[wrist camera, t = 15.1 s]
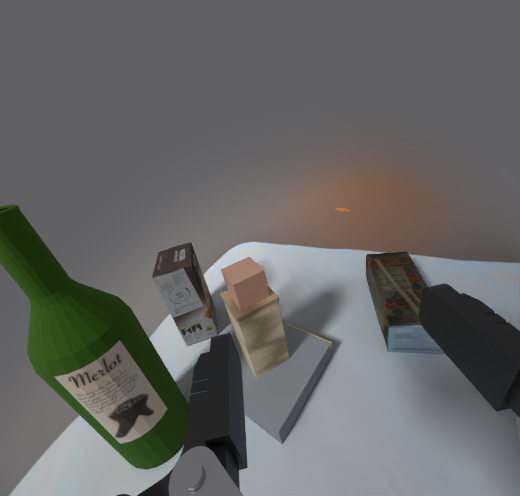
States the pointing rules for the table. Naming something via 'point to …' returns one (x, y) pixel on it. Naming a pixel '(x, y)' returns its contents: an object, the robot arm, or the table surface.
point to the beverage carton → (399, 302)
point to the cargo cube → (246, 283)
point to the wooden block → (259, 332)
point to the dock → (284, 382)
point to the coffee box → (186, 293)
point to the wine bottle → (94, 352)
